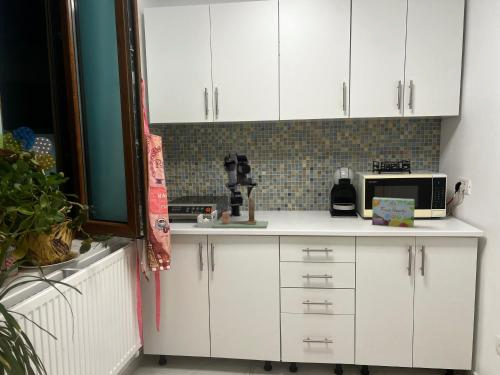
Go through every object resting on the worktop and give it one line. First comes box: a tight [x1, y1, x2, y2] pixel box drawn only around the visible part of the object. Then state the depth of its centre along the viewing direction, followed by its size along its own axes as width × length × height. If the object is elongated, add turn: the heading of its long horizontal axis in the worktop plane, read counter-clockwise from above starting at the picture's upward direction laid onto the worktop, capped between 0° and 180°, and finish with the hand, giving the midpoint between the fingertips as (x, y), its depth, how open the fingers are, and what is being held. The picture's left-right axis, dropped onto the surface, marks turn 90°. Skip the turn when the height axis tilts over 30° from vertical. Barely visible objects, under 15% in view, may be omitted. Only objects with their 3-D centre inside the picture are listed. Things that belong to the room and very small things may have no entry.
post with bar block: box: [221, 197, 258, 224], centre depth 207 cm, size 5×20×14 cm, turn 83°
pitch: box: [196, 209, 269, 229], centre depth 208 cm, size 14×39×8 cm, turn 83°
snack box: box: [371, 196, 415, 228], centre depth 199 cm, size 21×6×15 cm, turn 66°
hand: (241, 198), depth 224 cm, fingers open, 9 cm apart
